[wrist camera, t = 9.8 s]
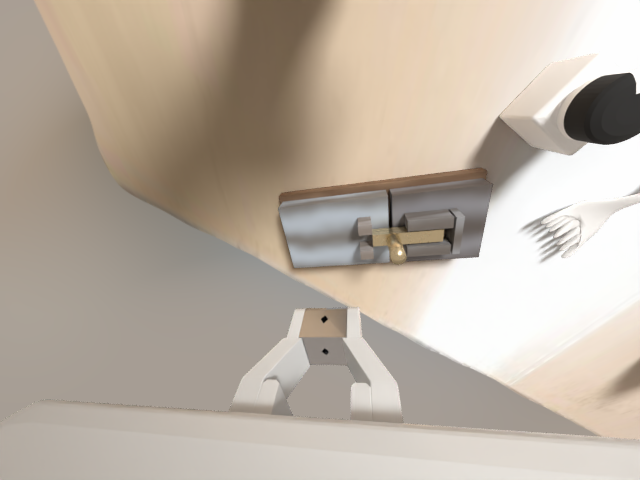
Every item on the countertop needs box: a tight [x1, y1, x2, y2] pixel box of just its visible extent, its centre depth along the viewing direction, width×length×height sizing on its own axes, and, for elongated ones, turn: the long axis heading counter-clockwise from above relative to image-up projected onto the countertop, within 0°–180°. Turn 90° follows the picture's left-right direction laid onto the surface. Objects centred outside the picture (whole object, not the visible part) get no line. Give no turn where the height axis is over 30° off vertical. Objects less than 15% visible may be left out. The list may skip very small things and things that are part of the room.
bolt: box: [372, 226, 444, 264], centre depth 33 cm, size 2×10×7 cm, turn 99°
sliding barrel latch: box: [278, 168, 493, 268], centre depth 38 cm, size 14×32×8 cm, turn 100°
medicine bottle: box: [500, 52, 640, 155], centre depth 25 cm, size 7×7×12 cm
